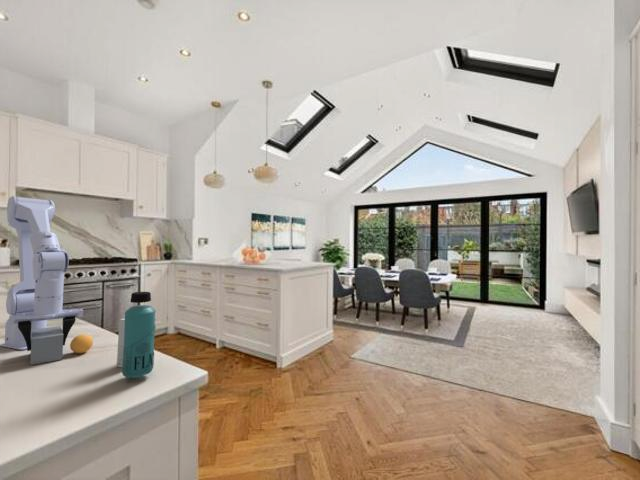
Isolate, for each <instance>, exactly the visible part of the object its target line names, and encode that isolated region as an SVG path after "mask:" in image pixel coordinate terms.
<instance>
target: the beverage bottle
mask: <svg viewBox="0 0 640 480" xmlns="http://www.w3.org/2000/svg"><path fill="white" fill-rule="evenodd" d="M130 296H131V297H130V303H133V304H139V303H140V304H141V303H149V302H151V301H152V297H151V296H152V295H151V291H136V292H132V293H131V295H130ZM124 318H125V328H124V348H123V353H122V354H123V367H121V372H122V376H123V377H125V378H139V377H144V376H146V375H148V374H150V373H151V372H152V371H153V369H154V367H155V360H154V359H155V350H156V349H155V348H156V347H155V335H156V321H157V320H156V309H155V308H154V307H152V306H151V305H147V304H145V305H144V304H142V305H133V306H131V307H129V308H128V309H127V310H126V311H125V312H124Z"/></svg>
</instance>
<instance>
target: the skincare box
mask: <svg viewBox="0 0 640 480" xmlns="http://www.w3.org/2000/svg"><path fill="white" fill-rule="evenodd" d="M124 328H125V317H124V318H121V319H119V323H118V334H117V335H118V339H117V340H118V341H117V351H116V352H117V355H116V367H117V368H122V367H123V354H122V353H123V348H124Z"/></svg>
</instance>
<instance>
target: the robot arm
mask: <svg viewBox="0 0 640 480" xmlns="http://www.w3.org/2000/svg"><path fill="white" fill-rule="evenodd" d="M6 204H7V205H6V214H7V223H8V226H9V227H11V228H13V229H15V231H16V233H17V241H18V259H19V263H18V264H19V282H18V283H16V284H14V285H13V286H11V287H10V288H9V289H8V291H7V293H6V302H5V307H6V308H5V309H6V313H7V314H8V315H9V317H8V319H7V320H6V322H5V332H4V342H3V343H1V344H0V347H5V348H9V349H15V350H19V351H25V350H26V351H27V352H31V336H32V329H41V328H48V326H47V325H48V321H51V320H59V319H62V327H61V328H62V332H63V346H65V345H66V341H67V338H68V336H69V334H70V331H71V329H72V328H73V326H74V324H75V323H76V319H77V318H83V317H84V316H83V314H84V310H83V308H74V309H63V304H64V303H63V302H64V285H65V282H64V281H65V273H66V272H67V271H68V268H69V265H70V264H69V262H70V260H69V254H68V252H67V251H66V250H65V249H64V248H61V245H60V242H59V239H58V235H57V234H56V233H55V232H52V231H51V225H50V224H51V223H52V220H53V218H54V216H55V212H56V206H55V203H54V201H53V200H51V199H39V198H31V197H24V196H23V197H21V196H16V195H11V196H10V197H8V200H7V203H6Z"/></svg>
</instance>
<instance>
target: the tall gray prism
mask: <svg viewBox="0 0 640 480" xmlns="http://www.w3.org/2000/svg"><path fill="white" fill-rule="evenodd" d="M62 328H63V327H62V326H61V325H57V326H52V327H51V326H49V327H47V328H41V329H32V336H31V351H30V361H29V362H30V363H29V364H30V366H33V365H38V364H39V365H40V364H44V363H49V362H50V363H51V362H54V361H61V360H63V352H64V351H63V350H64V345H63V332H62Z"/></svg>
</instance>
